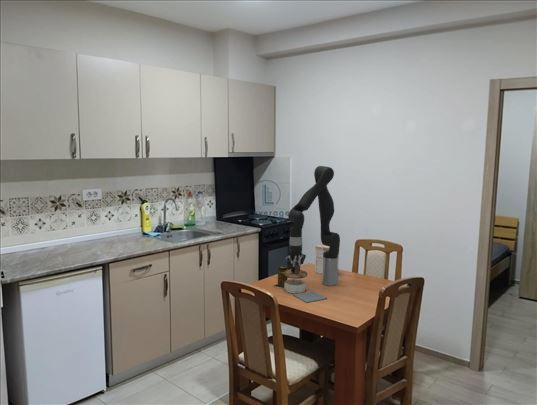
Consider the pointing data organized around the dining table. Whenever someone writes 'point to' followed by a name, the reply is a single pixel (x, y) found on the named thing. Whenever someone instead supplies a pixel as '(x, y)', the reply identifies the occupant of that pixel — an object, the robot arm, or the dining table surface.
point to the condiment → (281, 277)
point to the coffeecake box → (321, 258)
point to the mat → (309, 296)
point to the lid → (295, 273)
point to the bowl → (295, 286)
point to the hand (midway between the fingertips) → (295, 271)
